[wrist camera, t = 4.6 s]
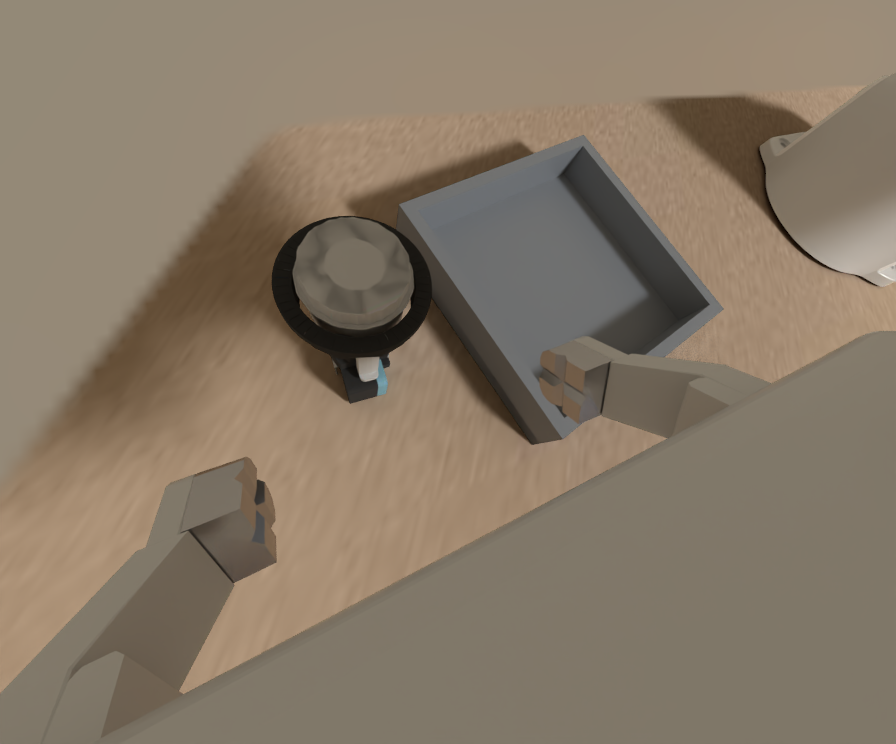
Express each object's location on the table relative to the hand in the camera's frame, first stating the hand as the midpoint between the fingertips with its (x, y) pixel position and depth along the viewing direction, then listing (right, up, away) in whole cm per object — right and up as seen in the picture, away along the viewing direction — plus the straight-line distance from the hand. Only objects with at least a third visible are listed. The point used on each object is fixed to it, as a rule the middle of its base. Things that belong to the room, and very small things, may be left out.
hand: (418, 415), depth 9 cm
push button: (-5, +2, +11) cm, 12 cm away
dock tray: (+8, +7, +16) cm, 19 cm away
